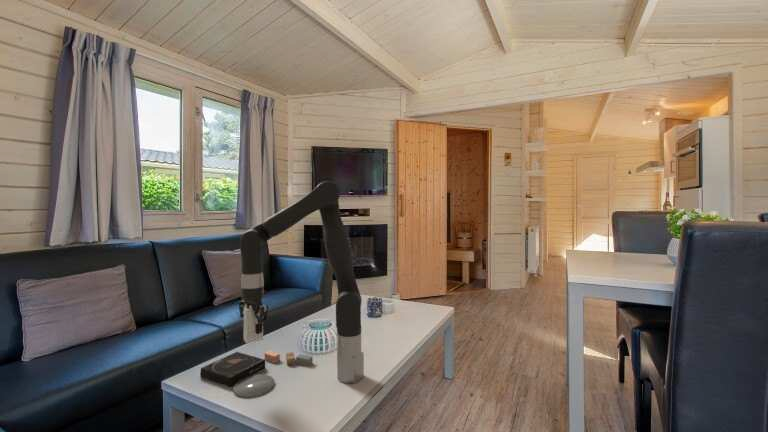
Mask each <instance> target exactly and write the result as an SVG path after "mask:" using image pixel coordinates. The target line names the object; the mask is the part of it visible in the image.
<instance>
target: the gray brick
mask: <svg viewBox="0 0 768 432" xmlns="http://www.w3.org/2000/svg"><path fill="white" fill-rule="evenodd" d="M313 359H314V357H313V356H310V355H305V354H301V353H300V354H298V355H297V356H295V364H296V365H299V366H300V365H301V366H305V367H310V365H313Z"/></svg>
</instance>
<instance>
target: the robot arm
mask: <svg viewBox="0 0 768 432" xmlns="http://www.w3.org/2000/svg"><path fill="white" fill-rule="evenodd" d="M340 195H341V191H340V188H339V186H338V185H337V184H336V183H335V182H334V181H330V180H325V181H322V182H319V184H318V185H317V186H316V187H315V188H314V189H313V190H311V191H310V192H309V193H308V194H306V195H305V196H304V197H302V198H301V199H300V200H298V201H296V202H295V203H293V204H291V205H289V206H287V207H286V208H283V209H282V210H280V211H277V212H276V213H275V214H272V215H271V216H269V217H267V219H264V221H262V222H261V223H260V224H257V225H255V226H253V227H252V228H250V229H248V230H246V231H245V232H243V233H242V234H241V236H240V238H239V239H240V240H239V247H240V254H241V255H240V256H241V280H240V282H241V283H240V284H241V287H240V289H241V291H240V292H241V299H242V300H239V301H238V304H237V305H238V309H239V317H240V319H243V321H244V307H246V308H248V307H250V309H251V310H252V316H253V318H255V322H256V334H260V333H262V323H263V324H264V323H265V322H267V321H268V312H269V305H268V304H266V305H264V304H263V302H262V301H263V300H262V299H263V298H264V295H265V292H264V291H265V288H264V287H265V285H264V282H265V280H264V270H263V268H264V267H263V258H262V245H264V243H266V242H268V241H269V240H271V239H272V238H274V237H277V236H279V235H280V234H282V233H284V232H285V231H287V230H288V229H290V228H292V227H293V226H295V225H297V223H299V222H301V221H302V220H303V219H304V218H306V217H308V216H309V215H311V214H313V213H314V212H316V211H318V210H319V214H320V218H321V222H322V233H323V240H324V241H323V242H324V247H325V253H326V256H327V261H328V263H329V265H330V268H331V270H332V273H333V274H334V277H335V280H336V281H335V282H336V286H337V294H338V295H337V297H338V298H337V299H336V300H335V301H336V302H335V326H336V363H337V364H336V367H337V371H336V372H337V373H336V377H337V380H338V381H339V382H342V383H345V384H355V383H357V382H358V381H359V380H361V379H362V378H364V377H365V373H364V369H365V366H364V365H365V363H364V359H365V358H364V355H365V354H364V352H363V351H362V321H361V317H362V315H361V314H362V310H361V309H362V301H363V299H362V295H361V293H360V289H359V286H358V283H357V280H356V276H355V271H354V270H355V269H354V262H353V256H352V255H353V254H352V248H351V245H350V239H349V237H348V233H347V229H346V228H345V226H344V225H345V224H344V222H343V220H342V216H341V211H340V203H339V198H340ZM259 311H260V314H257V315H256V313H258V312H259ZM258 316H259V320H258Z"/></svg>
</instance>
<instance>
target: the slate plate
mask: <svg viewBox="0 0 768 432" xmlns="http://www.w3.org/2000/svg"><path fill="white" fill-rule="evenodd" d="M274 386H275V378H274V377H273V376H271V375H268V374H254V375H252V376H248V377H245V378H243V379H241V380H239V381H237V382H236V383H235V384H234V386H233V387H232V392H233V394H234V395H235V396H237V397H239V398H240V397H241V398H253V397H259V396H262V395H264V394H266V393H268V392H270V391H271V390H272V389H273V388H274Z"/></svg>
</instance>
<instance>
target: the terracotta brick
mask: <svg viewBox="0 0 768 432" xmlns="http://www.w3.org/2000/svg"><path fill="white" fill-rule="evenodd" d="M264 360H265V361H267V362H270V363H272V364H275V363H277V362H280V361H281V354H280V353H278V352H275V351H274V350H273V351H272V350H269V351H266V352H264Z"/></svg>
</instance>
